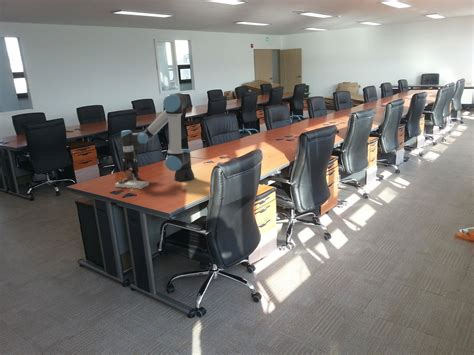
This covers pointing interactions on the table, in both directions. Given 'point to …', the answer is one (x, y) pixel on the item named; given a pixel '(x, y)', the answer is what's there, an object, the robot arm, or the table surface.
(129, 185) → the board
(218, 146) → the table surface
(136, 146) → the rubber mallet
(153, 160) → the table surface
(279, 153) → the table surface
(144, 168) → the table surface
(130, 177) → the block
